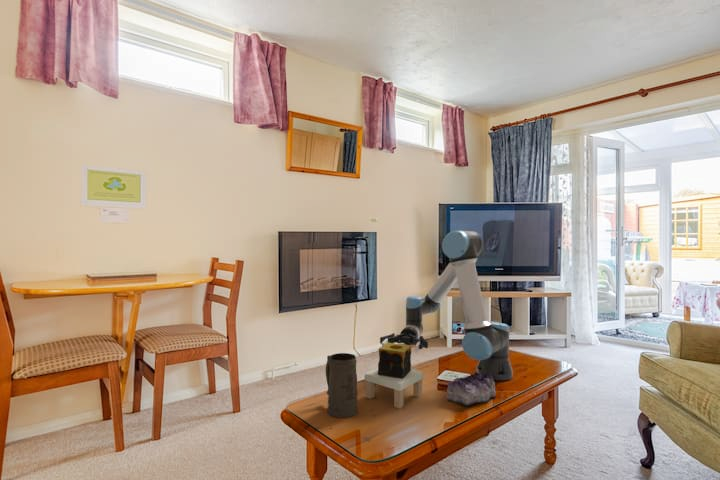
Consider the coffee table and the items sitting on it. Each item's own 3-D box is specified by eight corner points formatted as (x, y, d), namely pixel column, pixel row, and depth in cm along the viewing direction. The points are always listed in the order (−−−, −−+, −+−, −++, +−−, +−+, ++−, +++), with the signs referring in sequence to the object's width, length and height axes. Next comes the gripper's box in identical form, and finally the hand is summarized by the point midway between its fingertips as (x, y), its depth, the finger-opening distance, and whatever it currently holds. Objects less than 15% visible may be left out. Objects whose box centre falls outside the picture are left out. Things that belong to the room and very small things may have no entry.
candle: (377, 375, 148) (377, 348, 148) (386, 366, 157) (386, 341, 157) (403, 379, 144) (403, 352, 143) (411, 370, 153) (411, 345, 153)
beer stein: (365, 411, 138) (362, 354, 138) (344, 421, 130) (341, 361, 130) (334, 401, 148) (332, 349, 148) (313, 410, 140) (311, 355, 140)
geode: (479, 388, 159) (482, 364, 158) (501, 403, 149) (505, 378, 148) (440, 396, 150) (443, 371, 149) (461, 412, 140) (465, 385, 138)
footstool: (422, 395, 152) (423, 371, 152) (400, 409, 139) (400, 384, 139) (388, 384, 162) (388, 363, 162) (364, 397, 150) (364, 373, 149)
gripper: (437, 345, 174) (430, 360, 154) (382, 340, 182) (369, 353, 162) (437, 328, 174) (430, 341, 154) (383, 324, 182) (369, 335, 162)
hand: (399, 347), depth 158 cm, fingers open, 13 cm apart
